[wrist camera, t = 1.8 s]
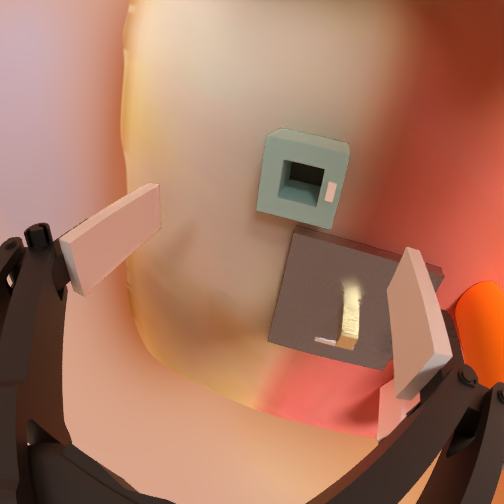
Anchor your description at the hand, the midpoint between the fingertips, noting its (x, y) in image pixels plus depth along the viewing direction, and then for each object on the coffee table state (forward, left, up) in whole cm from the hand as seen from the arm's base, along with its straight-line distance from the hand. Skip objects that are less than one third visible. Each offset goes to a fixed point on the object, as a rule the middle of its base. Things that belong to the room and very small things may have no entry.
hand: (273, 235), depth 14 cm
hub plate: (+14, +8, -13) cm, 20 cm away
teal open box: (0, 0, -13) cm, 13 cm away
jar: (+27, +23, -13) cm, 38 cm away
